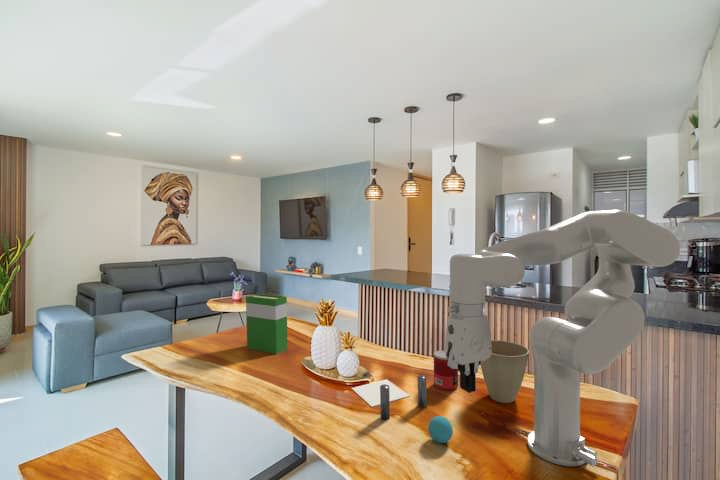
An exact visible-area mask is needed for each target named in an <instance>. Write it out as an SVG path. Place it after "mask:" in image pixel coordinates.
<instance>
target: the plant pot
mask: <svg viewBox="0 0 720 480" xmlns="http://www.w3.org/2000/svg"><path fill="white" fill-rule="evenodd" d="M529 354H530V350H529V349H528V348H527V347H525V346H524V345H523V344H519V343H516V342H512V341H507V340H498V339H494V340H493V339H491V356H490V357H489V358H488V359H486V360H485V361H483V362H481V363H480V368H481V373H482V376H483V381H484V383H485V386H486V389H487V392H488V395H489V397H490V398H491V399H492V400H493V401H495V402H499V403H502V404H511V403H513V402H515V400H516V398H517V396H518V394H519V392H520V389H521V386H522V384H523V382H524V381H523V380H524V377H525V373H526V369H527V367H528V360H529Z"/></svg>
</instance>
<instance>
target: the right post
mask: <svg viewBox="0 0 720 480" xmlns="http://www.w3.org/2000/svg"><path fill="white" fill-rule="evenodd" d="M427 407H428V405H427V375H424V374H419V375H417V408H419V409H427Z"/></svg>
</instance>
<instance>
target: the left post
mask: <svg viewBox="0 0 720 480" xmlns="http://www.w3.org/2000/svg"><path fill="white" fill-rule="evenodd" d="M390 404H391V402H390V399H389V385H385V384H384V385H381V386H380V405H379V406H380V407H379V408H380V419H381V420H382V421H388V420H390V418H391V417H390V414H391V411H390V408H391V406H390Z"/></svg>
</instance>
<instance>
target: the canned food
mask: <svg viewBox="0 0 720 480" xmlns="http://www.w3.org/2000/svg"><path fill="white" fill-rule="evenodd" d="M433 383H434V387H435V388H437V389H439V390H442V391H445V392H446V391H447V392H448V391H449V392H450V391H456V389H457V388H458V386H459V371H458V370H457V369H452V368H450V367H448V358H447V357H446V351H445V350H442V349H441V350H436V351H434V352H433Z"/></svg>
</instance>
